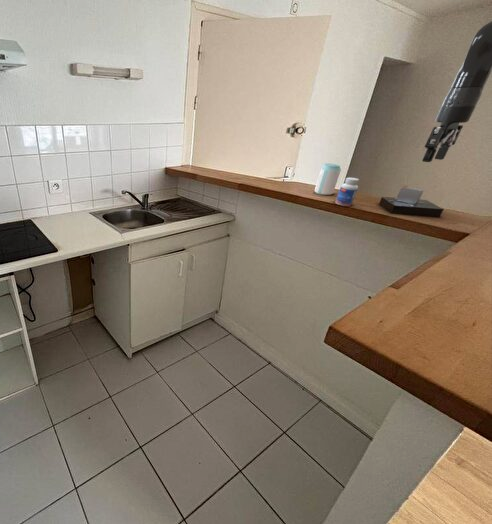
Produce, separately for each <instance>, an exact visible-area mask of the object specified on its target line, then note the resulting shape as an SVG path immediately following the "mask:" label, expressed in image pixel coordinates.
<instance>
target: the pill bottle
mask: <svg viewBox="0 0 492 524" xmlns="http://www.w3.org/2000/svg"><path fill="white" fill-rule="evenodd" d="M359 181H360V179H359V178H357V177H346V178H345V180H344V183H342V184H341V185H340V188H339V189H338V190H339V191H338V193H337V196H336V199H335V201H334V202H335V204H337V205H339V206H343V207H350V206H352V204H353V201H354V199H355V198H356V197H355V196H356V194H357V191H358V190H359V186H358V183H359Z"/></svg>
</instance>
